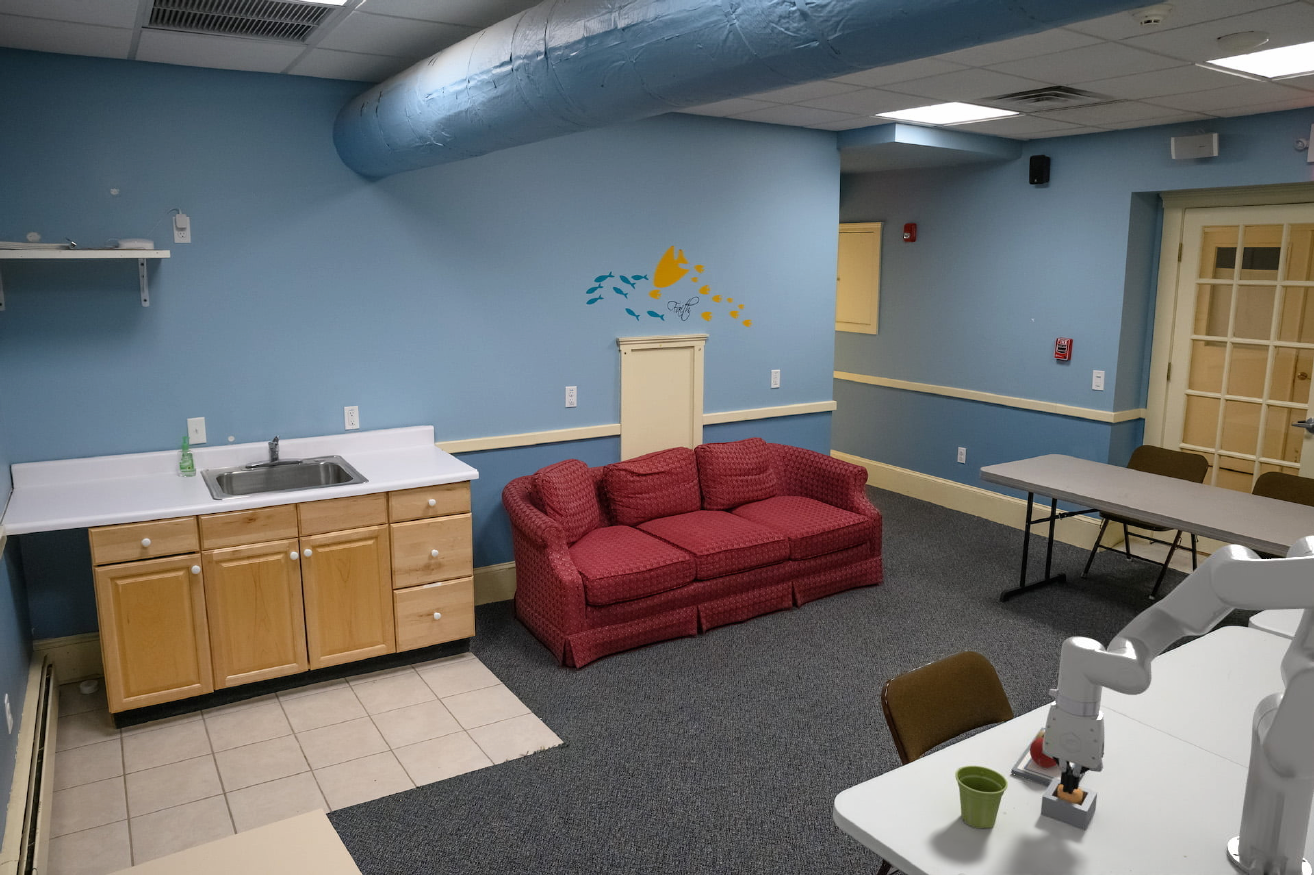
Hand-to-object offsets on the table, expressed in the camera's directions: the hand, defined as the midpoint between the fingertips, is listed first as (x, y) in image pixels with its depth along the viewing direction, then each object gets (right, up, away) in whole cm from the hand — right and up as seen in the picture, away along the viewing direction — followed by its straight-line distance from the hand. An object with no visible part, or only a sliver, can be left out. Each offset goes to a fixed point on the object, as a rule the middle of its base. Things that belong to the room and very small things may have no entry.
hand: (1069, 789), depth 174 cm
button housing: (0, -5, +1) cm, 5 cm away
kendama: (+7, 0, +19) cm, 20 cm away
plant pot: (-18, -5, -1) cm, 19 cm away
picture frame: (+6, -1, +19) cm, 20 cm away
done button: (0, -3, 0) cm, 3 cm away
